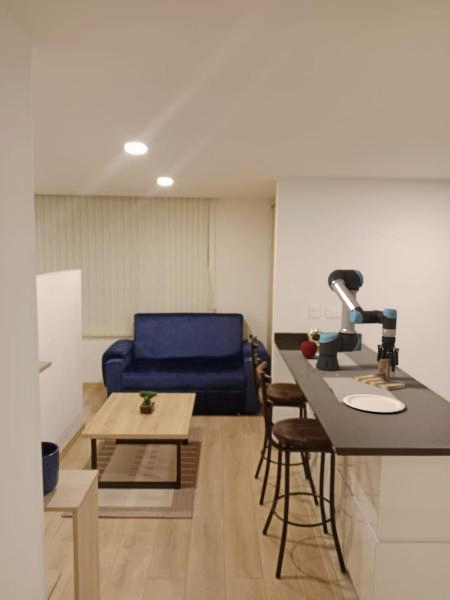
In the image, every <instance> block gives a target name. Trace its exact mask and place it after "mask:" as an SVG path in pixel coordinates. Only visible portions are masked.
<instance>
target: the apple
mask: <svg viewBox="0 0 450 600" xmlns="http://www.w3.org/2000/svg"><path fill="white" fill-rule="evenodd" d="M300 351H301V355H302V357H303V358H304V359H306V360H309V359H310V360H311V359H313V358H315V357H316V354H317V352H318V345H317V343H316V342H315V341H312V340H304V341H302V342H301V344H300Z"/></svg>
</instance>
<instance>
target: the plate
mask: <svg viewBox="0 0 450 600" xmlns="http://www.w3.org/2000/svg"><path fill="white" fill-rule="evenodd" d="M342 402H343V403H344V404H345V405H347V406H349V407H351V408H353V409H356V410H360V411H365V412H371V413H378V414H379V413H382V414H385V413H386V414H387V413H388V414H390V413H397V412H401V411H403V410H404V409H405V408H406V405H405V404H404V403H403V402H402V401H400V400H398V399H395V398H392V397H389V396H384V395H379V394H369V393H368V394H367V393H362V394H361V393H357V394H350V395H347V396H345V397H343V399H342Z"/></svg>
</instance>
